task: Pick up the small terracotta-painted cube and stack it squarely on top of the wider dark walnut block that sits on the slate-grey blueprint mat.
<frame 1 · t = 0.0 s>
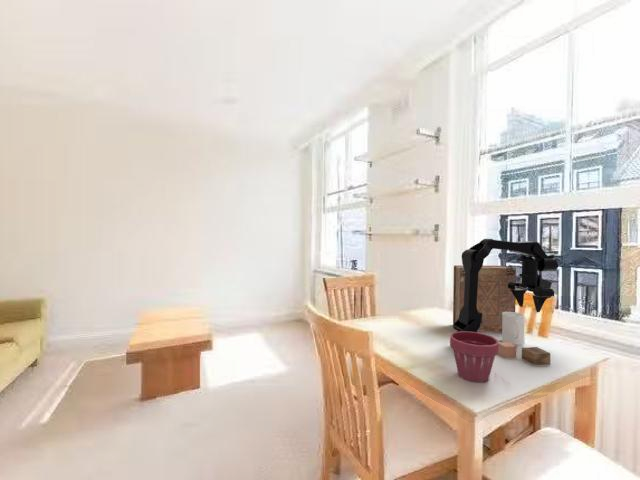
hand: (529, 309, 132), 15 cm above the table, fingers open, 9 cm apart
base block: (535, 361, 115), resting on blueprint mat
blueprint mat: (535, 362, 115), on the table
cube: (506, 356, 121), on the table
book: (482, 328, 155), on the table
mug: (513, 343, 134), on the table
plant pot: (473, 376, 105), on the table
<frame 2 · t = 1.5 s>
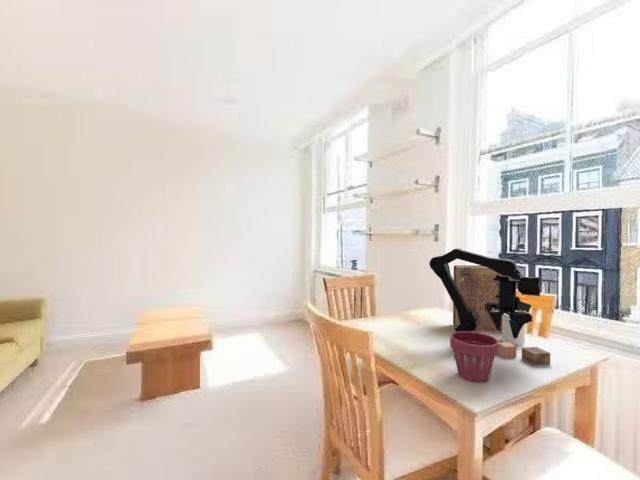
hand: (506, 334, 121), 8 cm above the table, fingers open, 9 cm apart
nothing on the table moved.
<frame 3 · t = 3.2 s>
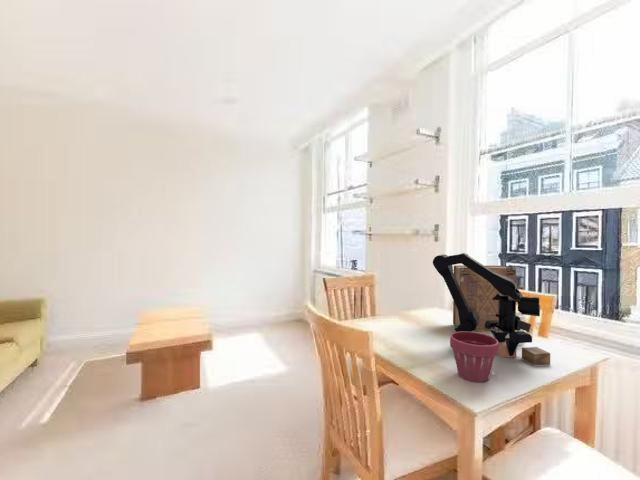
hand: (506, 353, 121), 1 cm above the table, fingers closed on cube, 4 cm apart
cube: (506, 355, 121), on the table, touching gripper
everything else where it was.
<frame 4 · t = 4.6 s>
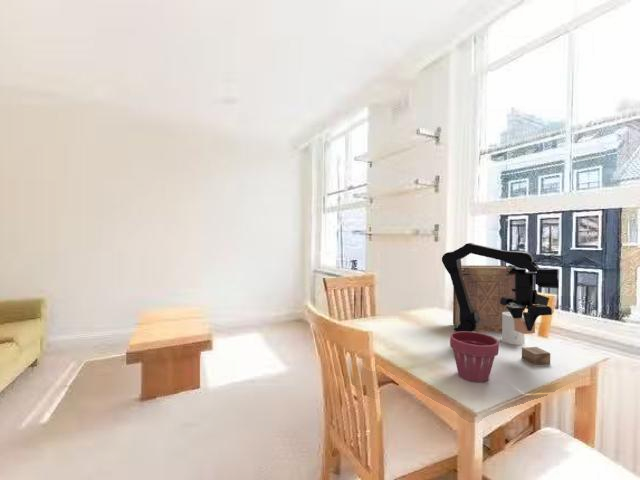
hand: (524, 328, 117), 12 cm above the table, fingers closed on cube, 4 cm apart
cube: (524, 331, 117), point 10 cm above the table, touching gripper
everything else where it was.
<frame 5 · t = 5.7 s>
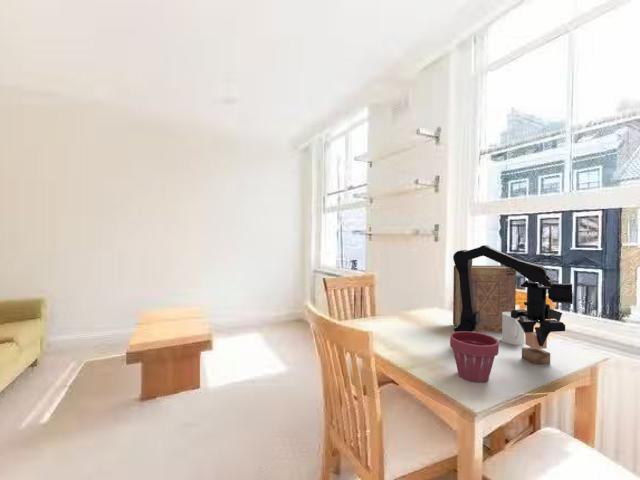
hand: (535, 343, 114), 7 cm above the table, fingers closed on cube, 4 cm apart
cube: (535, 346, 114), point 6 cm above the table, touching gripper
everything else where it was.
when the fingers open (7 cm above the table, at t = 6.3 s): cube drops 1 cm, resting on base block.
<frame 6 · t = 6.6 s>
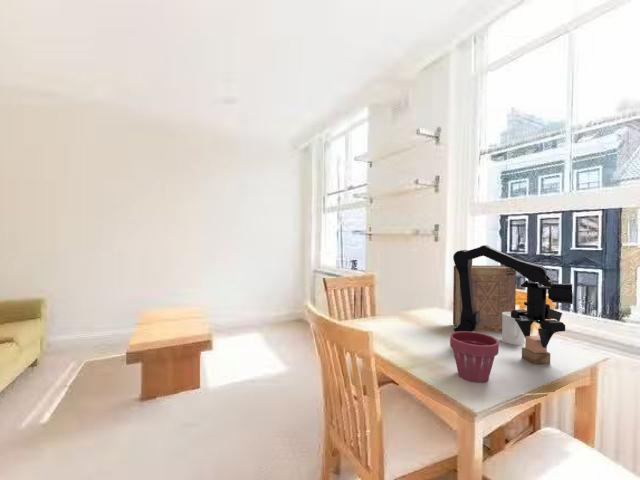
hand: (535, 343, 114), 7 cm above the table, fingers open, 7 cm apart
base block: (535, 361, 115), resting on blueprint mat, touching cube
cube: (535, 350, 114), point 4 cm above the table, touching base block
everything else where it was.
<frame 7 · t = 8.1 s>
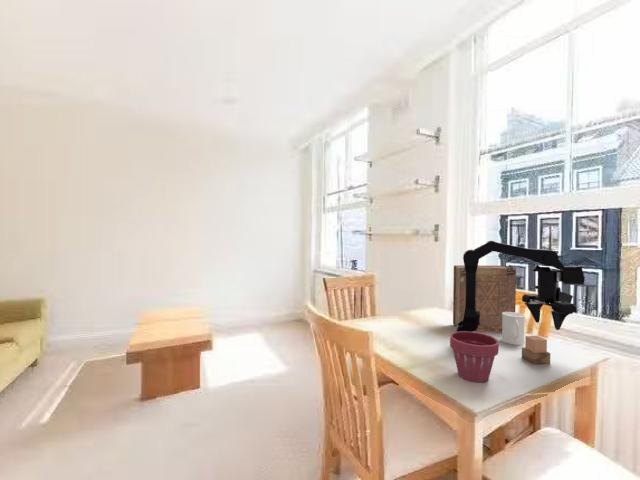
hand: (547, 326, 117), 12 cm above the table, fingers open, 9 cm apart
nothing on the table moved.
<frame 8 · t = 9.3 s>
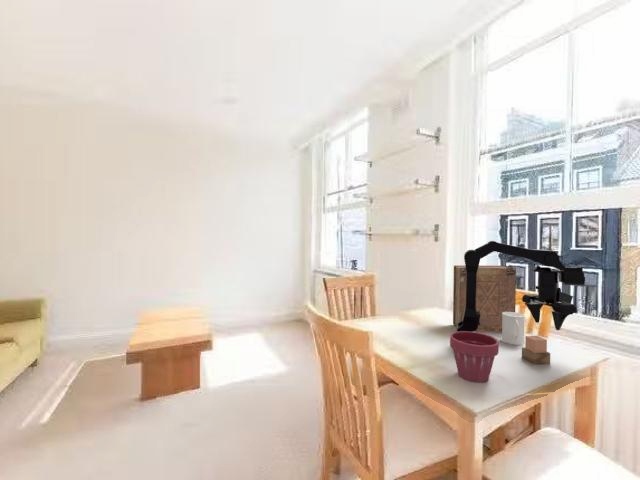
hand: (547, 326, 118), 12 cm above the table, fingers open, 9 cm apart
nothing on the table moved.
at the end: cube 0.0 cm off-centre on the base block, point 4.0 cm above the base block's base; cube tilted 0°; base block moved 0.0 cm from its start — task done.
